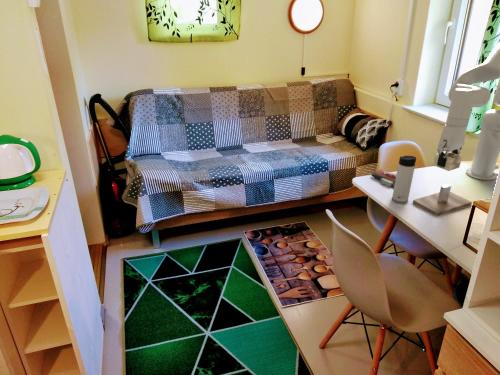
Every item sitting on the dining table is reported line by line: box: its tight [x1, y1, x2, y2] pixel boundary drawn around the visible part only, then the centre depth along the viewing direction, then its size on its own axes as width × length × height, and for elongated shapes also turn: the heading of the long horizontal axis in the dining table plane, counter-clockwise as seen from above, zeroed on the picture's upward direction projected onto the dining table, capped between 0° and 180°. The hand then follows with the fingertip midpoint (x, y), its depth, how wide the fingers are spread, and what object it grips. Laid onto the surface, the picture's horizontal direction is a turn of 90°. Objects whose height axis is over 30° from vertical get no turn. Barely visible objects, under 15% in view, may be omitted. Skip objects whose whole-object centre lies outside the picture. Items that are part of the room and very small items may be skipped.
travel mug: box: [391, 155, 417, 205], centre depth 156 cm, size 6×7×20 cm
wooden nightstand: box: [432, 151, 463, 172], centre depth 154 cm, size 7×7×5 cm
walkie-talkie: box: [371, 169, 397, 188], centre depth 175 cm, size 9×4×20 cm
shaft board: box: [412, 183, 473, 217], centre depth 156 cm, size 20×12×8 cm, turn 116°
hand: (446, 163), depth 154 cm, fingers closed on wooden nightstand, 7 cm apart
